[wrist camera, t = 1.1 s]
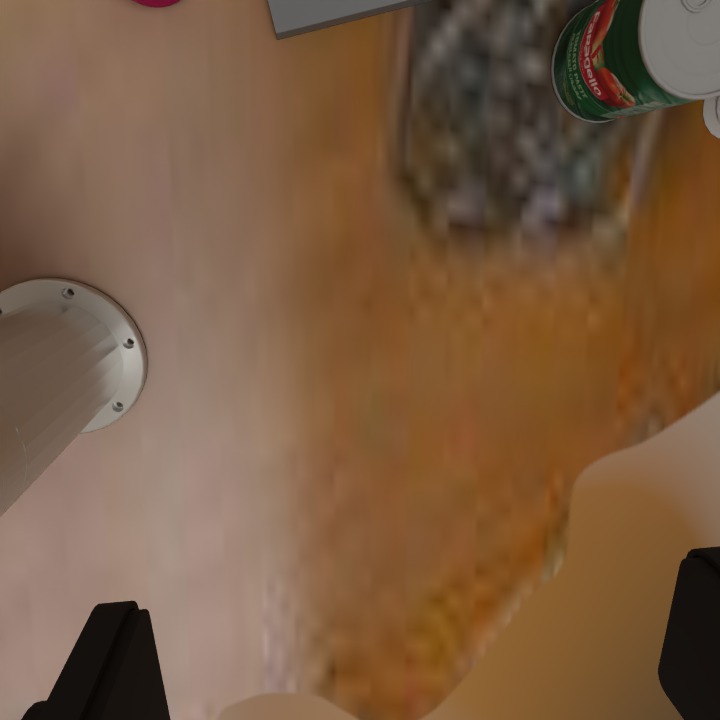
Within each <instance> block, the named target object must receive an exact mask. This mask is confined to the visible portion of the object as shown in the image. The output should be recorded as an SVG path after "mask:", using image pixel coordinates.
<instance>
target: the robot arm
mask: <svg viewBox="0 0 720 720" xmlns="http://www.w3.org/2000/svg"><path fill="white" fill-rule="evenodd" d="M70 289H72V290H73V292H74V294H72V293H71V292H70ZM0 309H1V310H2V311H0V517H1V516H2V515H3V514H4V513H5V512H6V511H7V510H8V509H9V508H10V507H11V506H12V505H13V504H14V502H15V501H16V500H17V499H18V498H19V497H20V496H21V495H22V494H23V493H24V492H25V491H26V490H27V489H28V488H29V487H30V486H31V485H32V483H33V482H34V481H35V480H36V479H37V478H38V477H39V476H40V475H41V474H42V473H43V472H44V471H45V470H46V469H47V467H48V466H49V465H50V464H51V463H52V462H53V461H54V460H55V459H56V458H57V457H58V456H59V455H60V454H61V452H62V451H63V450H64V449H65V448H66V447H67V446H68V445H69V444H70V443H71V442H72V441H73V440H74V439H75V438H76V436H77V435H78V434H81V433H87V432H93V431H96V430H99V429H101V428H104V427H107V426H108V425H110V424H112V423H114V422H115V421H117V420H119V419H120V418H121V417H122V416H123V415H124V414H125V413H126V412H127V411H128V410H129V409H130V408H131V407H132V406H133V404H134V403H135V402H136V400H137V399H138V397H139V395H140V393H141V391H142V390H143V386H144V383H145V380H146V376H147V356H146V349H145V346H144V343H143V340H142V337H141V334H140V332H139V331H138V329H137V327H136V325H135V324H134V322H133V320H132V319H131V318H130V317H129V316H128V314H127V313H126V312H125V311H124V310H123V308H122V307H120V306H119V305H118V304H117V303H116V302H114V301H113V300H112V299H111V298H110V297H108V296H107V295H105V294H103V293H102V292H100V291H98V290H97V289H95V288H92V287H90V286H87V285H85V284H82V283H80V282H76V281H71V280H66V279H61V278H42V279H35V280H29V281H26V282H23V283H20V284H16V285H14V286H12V287H10V288H8V289H6V290H4V291H2V292H0ZM129 338H130V339H132V340H133V341H134V343H131V342H130V341H129ZM119 402H120V403H122V405H120V404H119ZM658 675H659V680H660V683H661V686H662V688H663V690H664V692H665V693H666V695H667V696H668V698H669V699H670V701H671V702H672V703H673V705H674V706H675V707H676V709H677V711H678V712H679V713H680V715H681V716H682V718H683V719H684V720H720V547H711V548H699V549H692V550H691V551H690V552H688V554H687V557H686V559H683V560H682V561H681V564H680V567H679V572H678V577H677V582H676V587H675V591H674V596H673V601H672V605H671V610H670V615H669V620H668V624H667V629H666V634H665V639H664V643H663V648H662V653H661V658H660V663H659V667H658ZM21 720H170V715H169V710H168V705H167V700H166V695H165V690H164V685H163V680H162V675H161V670H160V665H159V660H158V655H157V650H156V644H155V639H154V634H153V629H152V624H151V619H150V614H149V611H148V610H147V609H141V610H139V608H138V605H137V603H136V602H135V601H125V602H114V603H103V604H98V605H97V606H95V608H94V609H93V611H92V612H91V614H90V616H89V618H88V620H87V622H86V624H85V626H84V628H83V630H82V632H81V634H80V636H79V638H78V640H77V642H76V644H75V646H74V648H73V650H72V652H71V654H70V656H69V658H68V660H67V662H66V664H65V666H64V668H63V670H62V672H61V674H60V676H59V678H58V680H57V682H56V684H55V686H54V688H53V690H52V692H51V694H50V696H49V698H48V699H47V701H40V702H37V703H34V704H33V705H32V706H31V707H30V708H29V709H28V710H27V712H26V713H25V715H24V716H23V718H22V719H21Z"/></svg>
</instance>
